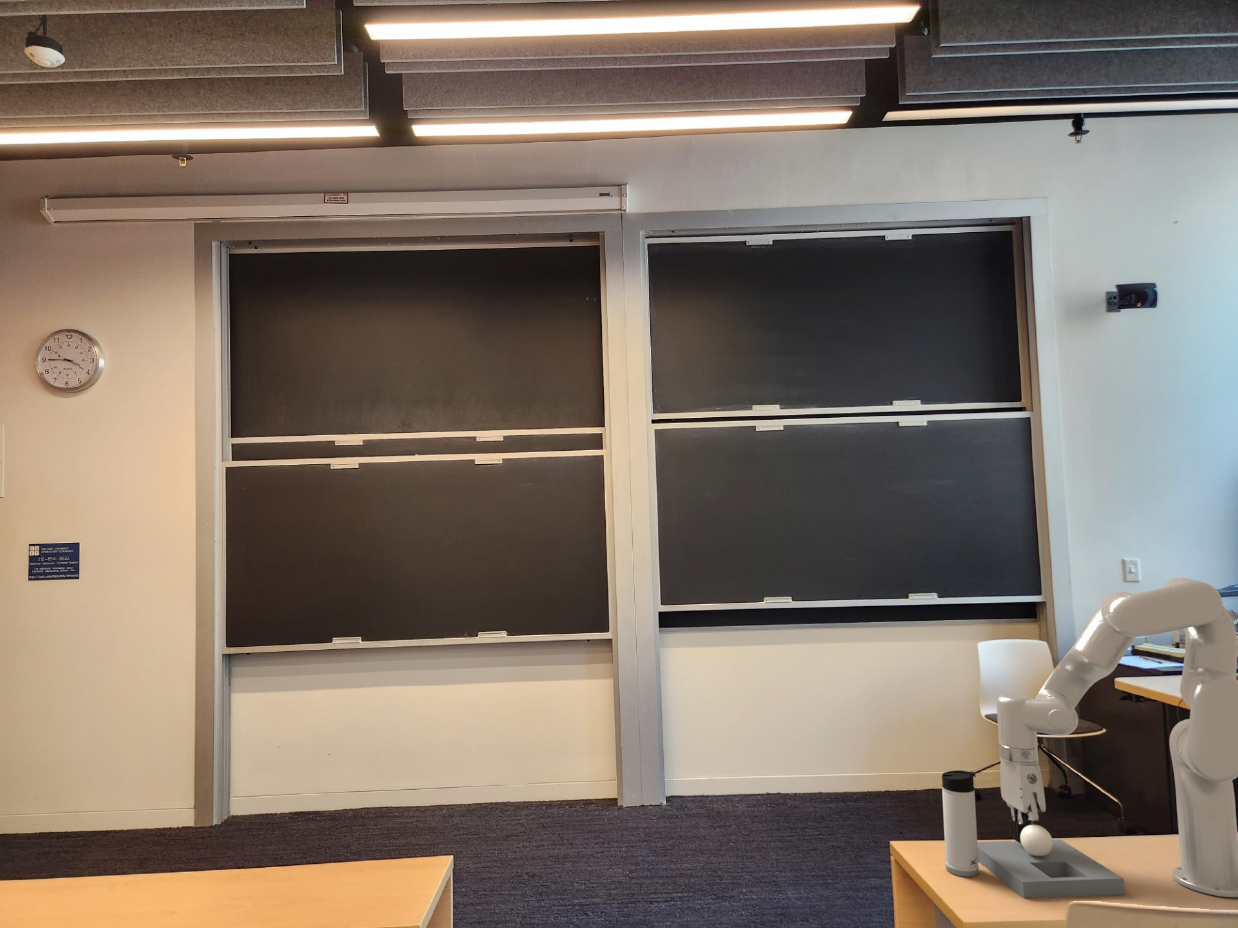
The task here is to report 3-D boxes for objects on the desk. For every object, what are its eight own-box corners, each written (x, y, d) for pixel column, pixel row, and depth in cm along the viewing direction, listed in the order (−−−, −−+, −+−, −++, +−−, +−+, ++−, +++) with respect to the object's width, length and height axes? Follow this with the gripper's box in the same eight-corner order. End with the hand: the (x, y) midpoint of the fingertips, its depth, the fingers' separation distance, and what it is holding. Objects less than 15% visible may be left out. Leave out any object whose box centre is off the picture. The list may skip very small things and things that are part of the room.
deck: (1061, 853, 173) (1060, 839, 173) (1124, 894, 153) (1123, 878, 153) (972, 856, 172) (971, 842, 172) (1023, 898, 152) (1022, 881, 152)
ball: (1041, 845, 168) (1042, 818, 168) (1058, 861, 163) (1059, 833, 162) (1013, 846, 168) (1014, 819, 168) (1030, 862, 162) (1031, 834, 162)
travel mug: (983, 878, 161) (978, 776, 163) (949, 875, 162) (944, 775, 164) (976, 865, 167) (971, 768, 169) (943, 863, 168) (938, 766, 170)
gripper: (1055, 762, 164) (1061, 854, 163) (1016, 744, 179) (1021, 828, 178) (1020, 763, 164) (1025, 855, 162) (984, 744, 179) (989, 829, 177)
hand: (1023, 841), depth 170 cm, fingers closed
